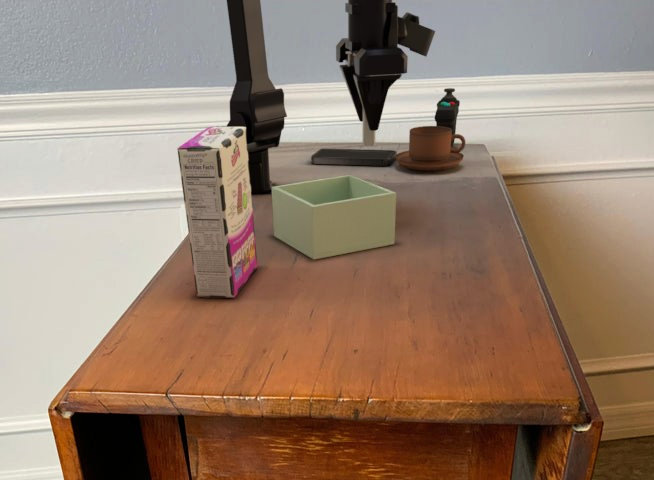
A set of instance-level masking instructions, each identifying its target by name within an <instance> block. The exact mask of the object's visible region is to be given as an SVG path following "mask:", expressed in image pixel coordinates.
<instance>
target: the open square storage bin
mask: <svg viewBox="0 0 654 480" xmlns="http://www.w3.org/2000/svg"><path fill="white" fill-rule="evenodd" d="M271 203H272V223H273V236H274V238H276V239H279V240H280V241H282V242H283V243H284V244H286V245H288V246H289V247H292V248H293V249H295V250H297V251H299V252H300V253H302V254H303V255H305V256H307V257H309V258H310V259H312V260H313V261H314V260H318V259H319V260H320V259H325V258H330V257H334V256H335V257H336V256H339V255H345V254H350V253H355V252H362V251H367V250H371V249H376V248H380V247H381V248H382V247H386V246H391V245H395V239H396V237H395V236H396V207H397V192H395V191H392V190H391V189H388V188H385V187H382V186H380V185H377V184H375V183H373V182H369V181H367V180H365V179H362V178H359V177H358V176H354V175H352V174H345V175H338V176H333V177H332V176H331V177H327V178H320V179H313V180H307V181H300V182H294V183H288V184H281V185H275V186H274V185H273V187H272V192H271Z"/></svg>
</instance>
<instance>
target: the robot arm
mask: <svg viewBox="0 0 654 480" xmlns="http://www.w3.org/2000/svg"><path fill="white" fill-rule="evenodd" d="M396 3H397V2H394V1H393V0H347V2H345V4H344V5H345V7H344V8H345V9H344V10H345V13H347V31H348V32H347V37H343V38H341V39H340V40H339V41H338V43H337V44H336V45H335V61H336V62H337V63H344V61H345V63H344V64H340V65H339V70H340V71H341V74H342V77H343V79H344V82H345V85H346V86H347V90H348V93H349V95H350V99H351V101H352V104H353V106H354V110H355V112H356V115H357V119H358V120H359V122H362V123H363V110H364V113H365V116H366V120H367V123H368V126H369V129H370V130H371V131H374V130H376V131H378V130H379V127H380V123H381V119H382V115H383V111H384V107H385V103H386V100H387V95H388V93H389V89H390V88H391V86H392V85H394V84H395V83H396V81H397V80H399V79H401V78H402V76H403V75H404V74H407V73H408V58H409V57H408V55H407V54H406V53H405V51H403V49H402V48H400V47H399V46H402V47H405V48H407V49H409V51H411V52H413V53H415V54H418V55H421V56H423V57H428V53H429V51H430V48H431V45H432V42H433V39H434V36H435V34H436V30H434V29H432V28H429V27H426V26H424V25H421V24H420V17H419V15H415V14H413V13H411V12H405V13H404V15H403V16H399V13H398V12H399V6H398V5H397V4H396ZM226 7H227V15H228V21H229V31H230V39H231V46H232V55H233V63H234V71H235V81H236V82H235V83H234V87H233V90H232V93H231V96H230V99H229V121H228V123H227V124H226V126H230V127H233V126H237V127H246V136H247V148H248V159H249V172H250V183H251V194H261V193H272V187H274V185H273V183H272V180H271V175H270V173H271V172H270V157H269V149H272V148H278V147H279V146H280V142H281V136H282V131H283V130H284V128H285V118H287V117H288V115H287V112H286V111H287V110H286V106H285V92H284V90H283V88H282V87H279V88H276V86H275V85H274V84H273V82H272V80H271V78H270V77H269V76H270V75H269V70H268V61H267V52H266V43H265V41H266V40H265V33H264V32H265V31H264V23H263V14H262V3H261V0H226Z"/></svg>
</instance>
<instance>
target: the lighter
mask: <svg viewBox="0 0 654 480" xmlns="http://www.w3.org/2000/svg"><path fill="white" fill-rule="evenodd" d="M376 134H377V130H374V131H371V130H370V129H369V126H368V123H367V120H366V116H365V113H364V110H363V122H362V147H375V146H376V136H377V135H376Z"/></svg>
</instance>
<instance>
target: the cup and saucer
mask: <svg viewBox="0 0 654 480" xmlns="http://www.w3.org/2000/svg"><path fill="white" fill-rule="evenodd" d="M408 139H409V140H408V141H409V143H408V150H405V151H401V152H397V155H396V156H395V158H396V159H395V161H396V162H397V163H398V165H400V166H402V167H404V168H407V169H410V170H415V171H416V170H417V171H427V172H428V171H429V172H430V171H440V170H441V171H442V170H446V169H450V168H454V167H455V166H458V165H459V164H460V163H461V162H462V161H463V160H464V154H463V153H461V152H462V151H463V150H464V149H465V147H466V138H465V136H464V135H462V134H459V133H455V134H454V135H452V129H451V128H448V127H442V126H436V125H422V126H415V127H412V128H410V129H409V137H408ZM453 139H455V140H456V139H459V140H460V141H461V145H460V147H458V148H453V147H451V140H453Z"/></svg>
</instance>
